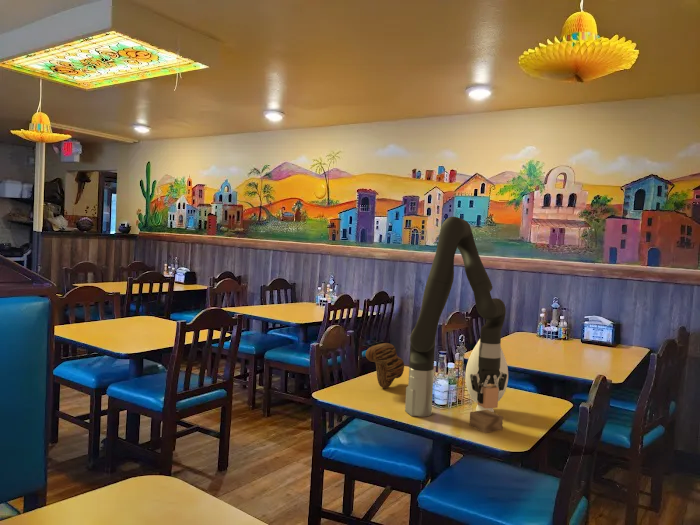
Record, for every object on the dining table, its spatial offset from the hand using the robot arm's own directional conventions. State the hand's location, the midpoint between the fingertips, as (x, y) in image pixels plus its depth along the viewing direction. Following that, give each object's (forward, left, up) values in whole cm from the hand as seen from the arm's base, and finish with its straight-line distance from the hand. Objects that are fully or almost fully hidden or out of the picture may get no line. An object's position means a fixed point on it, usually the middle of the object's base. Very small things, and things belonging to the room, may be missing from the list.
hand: (487, 402), depth 194 cm
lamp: (+10, +17, -9) cm, 22 cm away
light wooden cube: (0, 0, -1) cm, 1 cm away
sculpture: (-19, +52, -9) cm, 56 cm away
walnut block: (0, 0, -9) cm, 9 cm away
